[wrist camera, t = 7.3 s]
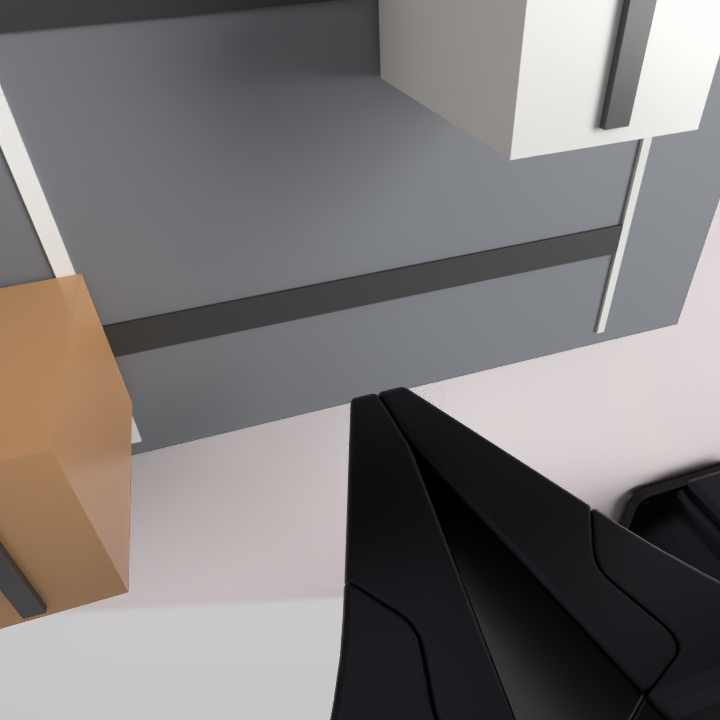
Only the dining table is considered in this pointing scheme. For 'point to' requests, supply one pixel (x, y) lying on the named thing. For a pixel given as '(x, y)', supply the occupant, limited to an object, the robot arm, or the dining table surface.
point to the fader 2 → (554, 67)
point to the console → (312, 211)
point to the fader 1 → (60, 453)
